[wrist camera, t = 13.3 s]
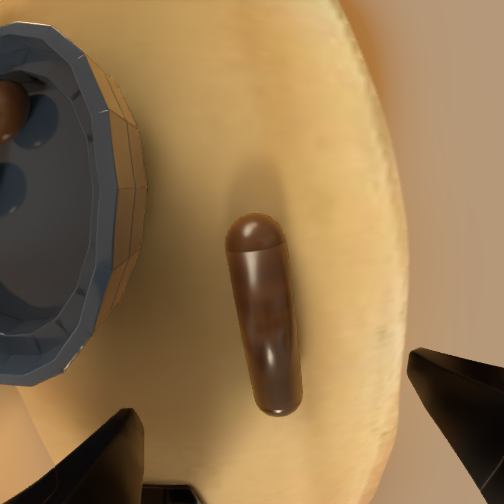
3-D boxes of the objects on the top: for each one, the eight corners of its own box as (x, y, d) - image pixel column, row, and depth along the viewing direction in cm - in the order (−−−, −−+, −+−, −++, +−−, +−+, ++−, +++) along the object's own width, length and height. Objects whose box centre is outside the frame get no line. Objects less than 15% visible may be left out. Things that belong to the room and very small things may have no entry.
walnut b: (-10, 84, 8) (38, 94, 10) (-30, 143, 8) (19, 152, 10) (-17, 66, 6) (41, 78, 8) (-42, 137, 6) (16, 148, 8)
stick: (307, 396, 14) (300, 427, 12) (264, 394, 15) (252, 424, 13) (286, 206, 12) (274, 214, 10) (232, 212, 13) (209, 222, 11)
